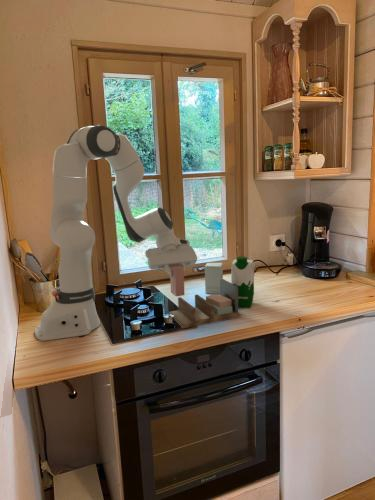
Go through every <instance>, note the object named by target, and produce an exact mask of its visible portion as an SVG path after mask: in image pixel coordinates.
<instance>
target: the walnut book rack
mask: <svg viewBox="0 0 375 500" xmlns="http://www.w3.org/2000/svg"><path fill="white" fill-rule="evenodd" d="M177 305H178V306H177V307H178V310H173V311H168V315H169V314H172V315H174V319H175V321H176V322H177V323H178V324H179V325H180V326H181V327H180V326H179V325H178V324H177V323H176V322H175V323H176V324H177V325H178V326H179V327H180V328H181V329H187V328H191V327H197V326H202V325H207V324H212V323H218V322H222V321H227V320H231V319H233V320H234V319H236V318H241V313H240V312H239V311H238V313H235V312H233V311H232V313H227V314H222V315H217V314H215V313H214V312H213V305H212V304H211V303H209V302H208V301H206V298H205V299H204V298H203V297H201V296H200V295H199V294H194V306H193V305H191V304H190V303H189V302H187V301H186V300H185V299H184V298H183V297H181V296H178V297H177Z"/></svg>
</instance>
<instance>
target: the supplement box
mask: <svg viewBox="0 0 375 500" xmlns="http://www.w3.org/2000/svg"><path fill="white" fill-rule="evenodd" d="M223 272H224V271H223V262H207V263H206V264H205V266H204V286H205V288H204V289H205V290H204V292H205V294H211V295H214V294H219V295H220V279H223V278H224V275H223V274H224V273H223Z"/></svg>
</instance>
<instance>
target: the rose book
mask: <svg viewBox="0 0 375 500" xmlns="http://www.w3.org/2000/svg"><path fill="white" fill-rule="evenodd" d="M169 269H170V270H171V271H173V273H174V275H173V276H171V277H169V278H170V280H169V281H170V293H171V294H172V295H174V296H175V297H181V296H185V275H184V270H185V269H184V268H182V267H181V266H179V265H174V266H170V268H169Z"/></svg>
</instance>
